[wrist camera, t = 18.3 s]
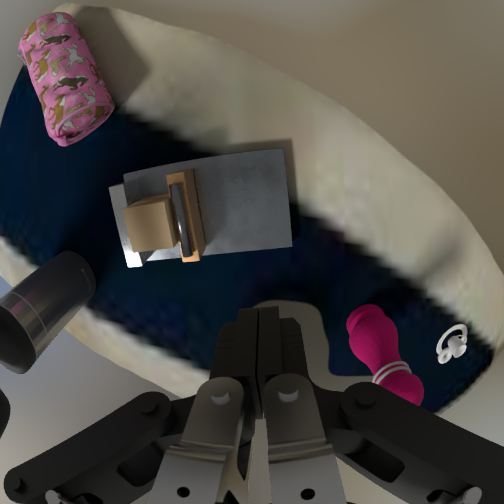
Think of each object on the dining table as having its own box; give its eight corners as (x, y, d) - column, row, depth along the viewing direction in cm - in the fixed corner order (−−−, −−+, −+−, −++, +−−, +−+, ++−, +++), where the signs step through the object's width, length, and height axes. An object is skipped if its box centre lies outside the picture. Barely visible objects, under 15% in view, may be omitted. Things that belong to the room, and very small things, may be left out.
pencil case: (41, 56, 25) (6, 49, 17) (80, 16, 23) (48, 0, 15) (84, 149, 32) (44, 155, 24) (131, 108, 30) (95, 101, 22)
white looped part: (439, 362, 45) (447, 374, 41) (426, 346, 43) (435, 360, 39) (469, 334, 42) (479, 345, 38) (459, 316, 40) (470, 328, 36)
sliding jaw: (190, 249, 35) (180, 266, 30) (176, 171, 31) (162, 176, 26) (206, 248, 35) (197, 265, 30) (192, 168, 31) (180, 173, 26)
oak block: (151, 235, 35) (133, 252, 29) (143, 197, 33) (122, 209, 27) (187, 230, 34) (173, 248, 29) (180, 191, 32) (163, 201, 27)
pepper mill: (356, 296, 38) (407, 401, 20) (393, 306, 39) (450, 400, 20) (335, 333, 41) (366, 441, 23) (372, 341, 42) (412, 438, 23)
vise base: (146, 256, 37) (130, 274, 32) (128, 172, 33) (107, 179, 28) (291, 242, 36) (295, 259, 31) (282, 148, 31) (286, 148, 26)
